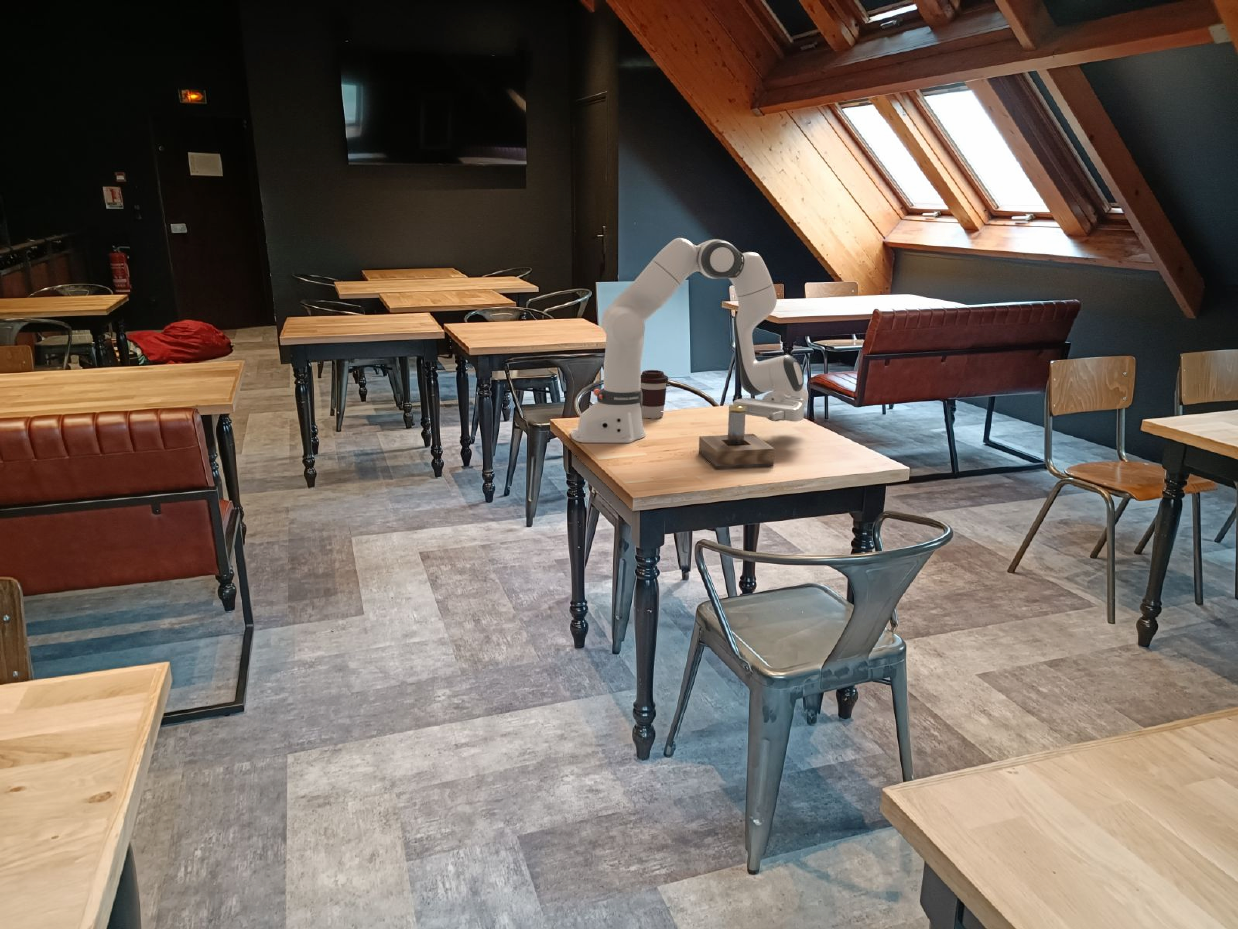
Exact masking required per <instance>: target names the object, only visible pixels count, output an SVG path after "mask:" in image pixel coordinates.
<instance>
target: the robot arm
mask: <svg viewBox="0 0 1238 929" xmlns="http://www.w3.org/2000/svg"><path fill="white" fill-rule="evenodd" d="M694 273H697V274H700V275H702V276H704V277H706V278H709V279H715V280H716V279H718V280H721V279H722V280H723V279H724V280H725V279H729V281H730V282H731V284H732V285H733V288H734V291H735V294H736V298H737V302H738V306H737V313H736V314H735V315H734V317H733V327H734V329H733V330H734V336H735V337H734V338H735V343H736V349H737V351H736V352H737V356H738V362H739V378H740V384H741V387H742V389H743V390H744V391H746V393H748V394H749V395H752V396H754V397H755V396H756V397H757V396H760V395H764V396H763V397H762V398H761V399H760V398H751V397H743V398H739V399H735V400H734V401H733V402H732V405H744V406H746V413H745V416H754V417H761V418H766V420H767V419H768V421H771V422H781V421H787V422H795V423H796V422H799V421H803V420H804V414H805V407H806V405H807V403H808V402H809V401H808V400H809V392H808V390H807V388H806V386H804V383H805V377H804V376H805V375H804V370H803V368H802V366H801V363H800V362H799V361H798V360H797V359H796V358H795V357H794V356H792V355H790V354H786V355H781V356H776V357H772V358H768V359H764V360H761V361H758V360H757V359H756V355H755V354H756V353H755V348H754V342H753V341H754V340H753V332H754V330H755V328H756V327H757V326H758V325H759V324H760V323H761V322H763V321H765V319H767V318H768V317H769V316H770V315H771V314H772V313H773V312H774V310H775V308H776V305H777V302H778V300H777V298H778V297H777V293H776V289H775V285H774V282H773V280H772V277H771V275H770V272H769V269H768V268H767V265H766V264H765V261H764V260H763V258H762V256H761V255H760V254H759V253H757V252H755V251H754V252H752V251H747V252H743V253H742V252H741V251H740V250H738V249H737V248H736V246H734V245H733V244H732V243H730V242H728V241H726V240H723V239H719V238H714V239H709V240H704V241H702V242H700V243H697V244H693V242H691V241H690V240H689V239H686V238H684V237H677V238H674V239H673V240H671V241H670V242H669V243H668V244H666V246H664V247H663V248H662V249H661V250H660V251H659V252H658V253H657V254H656V255H655V256H654V257H653V258H652V259H651V261H650V262H649V263H648V264H647V266H646V267H645V268H644V269H643V270H642V271H641V272H640V274H639V275H638V276H637V277H636V278H635V280H634V281H633V282H632V283H631V284H630V285H628V287H626V288H625V289H624V291H622V292H621V293H620V294H619V295H617V297H616V298H615V299H614V300H613V301H612V302H611V304H610V305H608V306H607V308H605V310H604V312H603V313H602V315H601V320H600V321H601V327H602V330H603V331H604V333H605V335H606V336H605V350H604V360H603V388H602V389H599V388H594V390H593V395H594V396H595V397H596V402H595V403H593V404H591V405H590V406H589V407H588V408H587V409H586V410H585V411H583V412H581V413H580V416H579V419H578V423H577V427H575V428H573V429H571V431H570V437H571V438H572V439H573V440H574V441H576V442H579V443H585V444H586V443H587V444H588V443H598V444H599V443H603V444H604V443H611V444H613V443H614V444H615V443H618V444H619V443H621V444H622V443H625V444H626V443H629V444H630V443H633V442H635V441H637V440H640V439H642V438H644V437H646V432H645V428H644V423H643V417H642V415H641V407H642V389H641V375H642V358H643V351H644V344H645V343H644V341H645V329H646V326H645V325H646V323H645V322H646V321H648V319H650V317H651V316H653V315H654V314H655V313H656V312H657V311H658V310H659V309H661V308H663V306H664V305H665V304H666V303H667V302H668V301H669V300H670V299H671V298H672V296H673V295H674V294H675V293H676V292H677V290H678V289H679V288H680V287H681V286H682V285H683V283H684V282H685V281H686V279H687V278H688V277H690V276H691V275H692V274H694Z"/></svg>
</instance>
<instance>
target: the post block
mask: <svg viewBox="0 0 1238 929" xmlns="http://www.w3.org/2000/svg"><path fill="white" fill-rule="evenodd" d="M727 443H728V434H724V435H721V434H720V435H719V434H718V435H704V436H703V435H702V436H699V438H698V455H700V456H701V457H702V458H703V459H704V460H705V461H706V462H707V463H708V462H709V463H710V466H712V468H714V469H715V470H717V471H718V470H719V471H720V470H721V469H722V470H733V469H734V470H736V469H738V470H739V469H755V468H756V469H757V468H771V466H773V467H774V461H775V448H774V447H773V446H771V445H770V444H769V443H767V442H765V440H763V439H762V438H760V437H759V436H757V435H756V434H754V433H745V435H744V445H740V446H728V445H727ZM709 463H708V464H709Z"/></svg>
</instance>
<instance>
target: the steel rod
mask: <svg viewBox="0 0 1238 929" xmlns="http://www.w3.org/2000/svg"><path fill="white" fill-rule="evenodd" d="M745 413H746V406H744V405H733V404H730V405H728V422H727V423H728V425H727V435H728V443H727V445H728V446H740V445H744V435H745V434H746V433H745V430H746V415H745Z"/></svg>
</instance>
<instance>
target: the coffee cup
mask: <svg viewBox="0 0 1238 929" xmlns="http://www.w3.org/2000/svg"><path fill="white" fill-rule="evenodd" d="M668 382H669V376H668V375H666V374H665V373H664V371H662V370H657V369H647V370H643V371H641V389H642V407H641V415H642V418H644V419H648V418H658V419H661V418H663V417H664V412H661V411H665V405H666V395H667V383H668ZM660 417H661V418H660Z"/></svg>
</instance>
